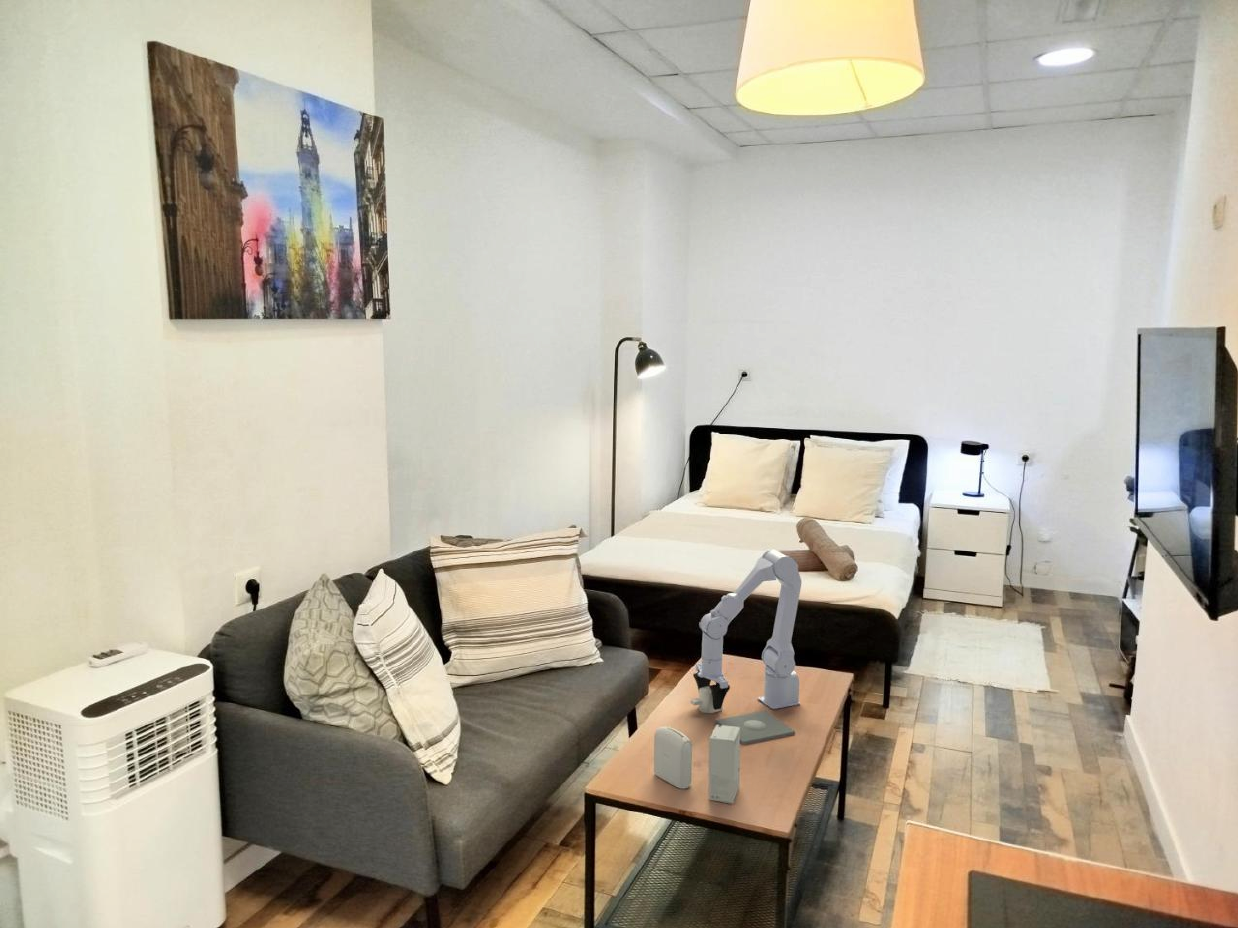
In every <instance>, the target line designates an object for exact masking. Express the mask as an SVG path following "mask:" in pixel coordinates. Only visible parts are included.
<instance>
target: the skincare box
mask: <svg viewBox="0 0 1238 928" xmlns="http://www.w3.org/2000/svg"><path fill="white" fill-rule="evenodd" d="M740 747H741V746H740V727H734V726H725V725H718V724H716V725H715V726H714V729H712V733H711V735H710V736H709V739H708V800H709V801H716V802H721V803H725V804H730V805H733V804H734V803H735V797H736V796H737V793H738V791H739V789H740V762H741V761H740V758H741V757H740V754H741V753H740V752H741V748H740Z"/></svg>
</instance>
